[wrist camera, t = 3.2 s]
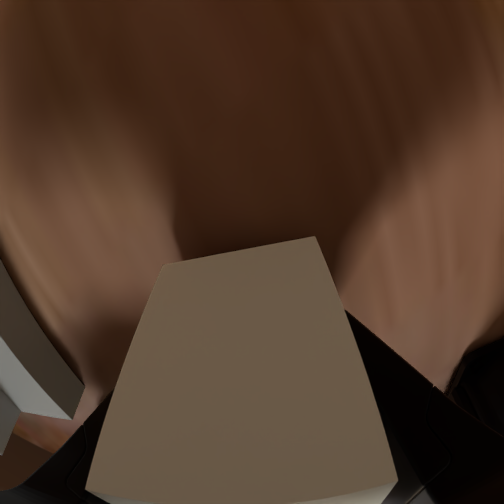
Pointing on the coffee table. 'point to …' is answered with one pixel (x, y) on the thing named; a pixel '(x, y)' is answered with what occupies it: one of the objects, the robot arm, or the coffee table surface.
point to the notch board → (30, 366)
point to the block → (244, 390)
